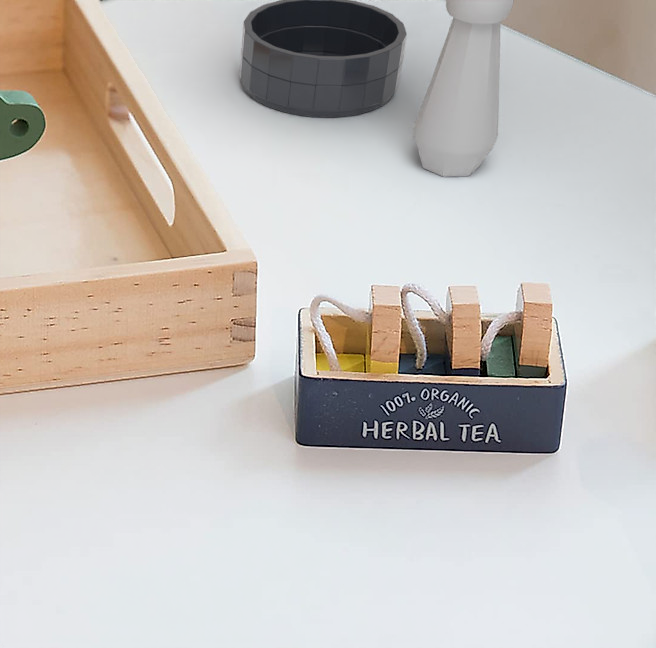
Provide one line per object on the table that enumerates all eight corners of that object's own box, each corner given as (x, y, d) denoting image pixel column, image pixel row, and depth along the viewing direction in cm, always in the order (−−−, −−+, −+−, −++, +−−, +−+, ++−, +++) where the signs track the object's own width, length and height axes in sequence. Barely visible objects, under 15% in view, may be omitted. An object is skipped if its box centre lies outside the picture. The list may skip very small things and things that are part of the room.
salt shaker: (456, 190, 106) (491, 2, 97) (391, 162, 109) (420, -23, 100) (507, 165, 109) (546, -20, 100) (442, 139, 112) (475, -43, 103)
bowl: (324, 42, 125) (331, -14, 122) (430, 94, 118) (440, 35, 114) (207, 76, 120) (211, 18, 117) (309, 133, 113) (316, 72, 109)
